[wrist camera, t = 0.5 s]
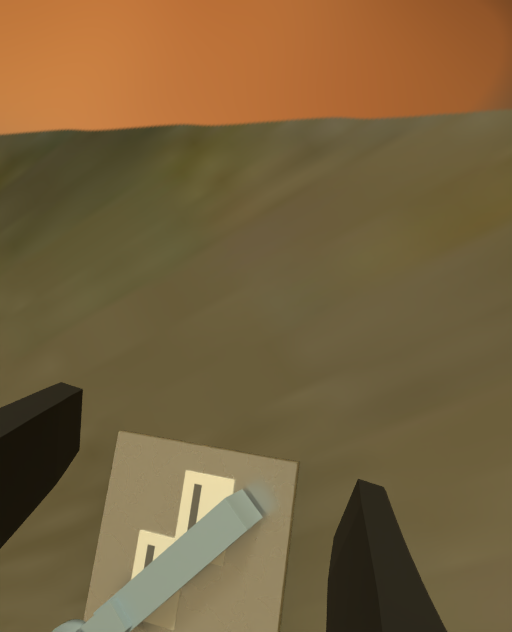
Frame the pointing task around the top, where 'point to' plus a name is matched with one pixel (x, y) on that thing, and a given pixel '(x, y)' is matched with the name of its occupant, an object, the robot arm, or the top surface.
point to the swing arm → (172, 568)
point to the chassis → (161, 518)
